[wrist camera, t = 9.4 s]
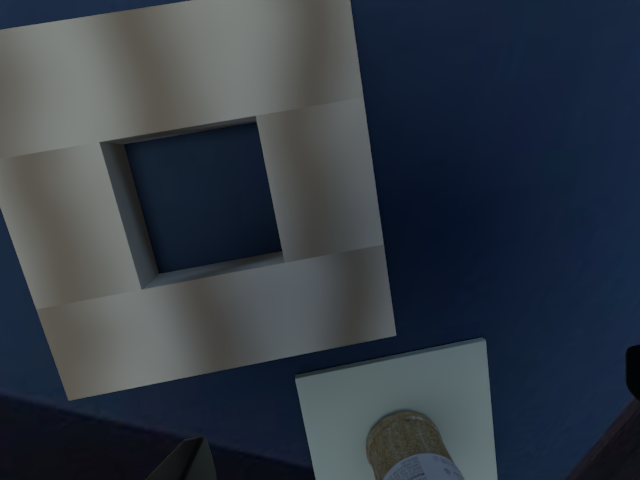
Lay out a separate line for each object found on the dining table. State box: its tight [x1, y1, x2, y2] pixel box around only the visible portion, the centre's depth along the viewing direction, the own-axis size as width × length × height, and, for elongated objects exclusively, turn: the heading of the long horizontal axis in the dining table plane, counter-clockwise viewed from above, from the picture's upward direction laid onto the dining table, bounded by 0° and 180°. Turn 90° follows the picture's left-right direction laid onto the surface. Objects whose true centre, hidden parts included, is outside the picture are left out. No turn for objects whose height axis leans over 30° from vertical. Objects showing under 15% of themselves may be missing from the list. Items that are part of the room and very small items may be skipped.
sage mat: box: [295, 337, 497, 480], centre depth 23 cm, size 11×11×1 cm
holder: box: [0, 0, 396, 401], centre depth 18 cm, size 16×16×2 cm
